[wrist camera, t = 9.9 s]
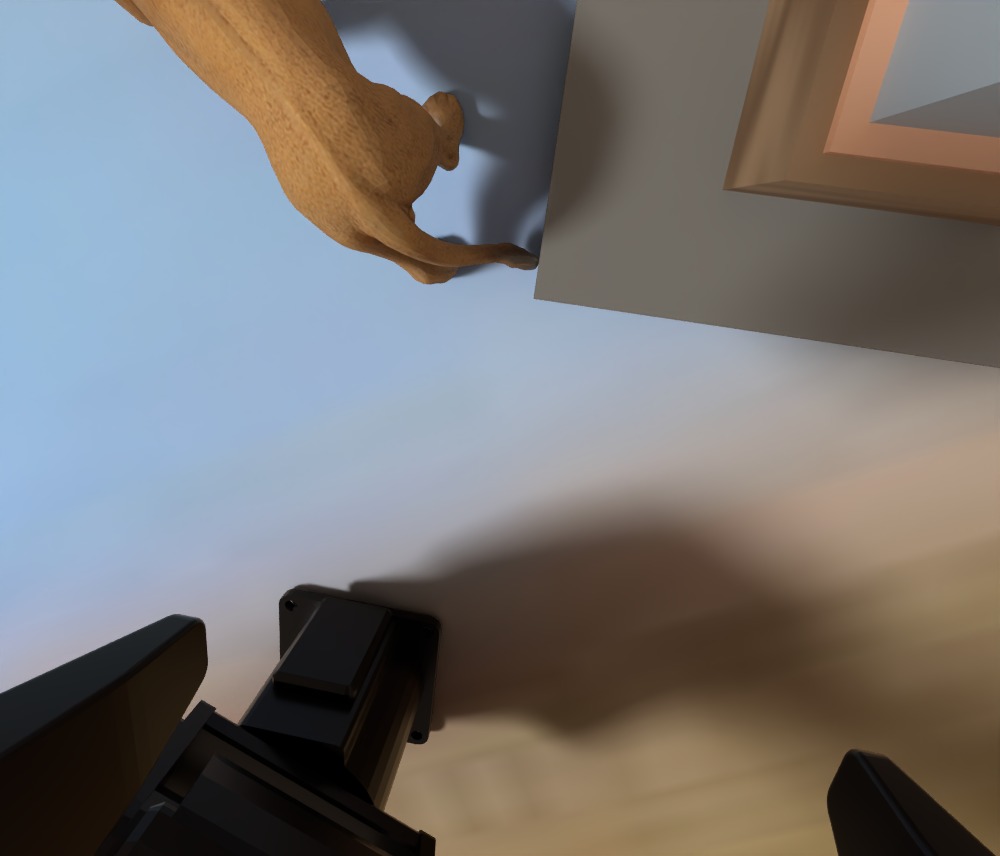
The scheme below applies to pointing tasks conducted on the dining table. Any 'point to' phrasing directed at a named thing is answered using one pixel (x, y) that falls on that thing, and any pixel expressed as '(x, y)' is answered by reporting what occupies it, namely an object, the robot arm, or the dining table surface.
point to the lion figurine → (328, 125)
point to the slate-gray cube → (944, 69)
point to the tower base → (726, 241)
